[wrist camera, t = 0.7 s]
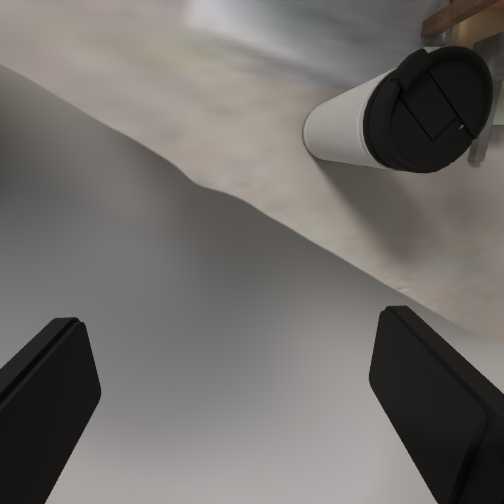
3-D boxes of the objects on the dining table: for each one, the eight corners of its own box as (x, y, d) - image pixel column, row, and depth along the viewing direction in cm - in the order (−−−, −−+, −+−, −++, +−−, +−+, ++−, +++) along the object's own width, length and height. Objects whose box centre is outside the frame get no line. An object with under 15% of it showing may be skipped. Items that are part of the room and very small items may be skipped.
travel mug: (327, 87, 32) (462, 1, 13) (364, 129, 33) (530, 109, 15) (288, 132, 33) (359, 113, 14) (326, 170, 35) (433, 199, 16)
